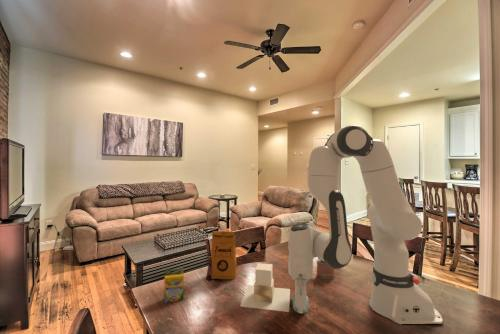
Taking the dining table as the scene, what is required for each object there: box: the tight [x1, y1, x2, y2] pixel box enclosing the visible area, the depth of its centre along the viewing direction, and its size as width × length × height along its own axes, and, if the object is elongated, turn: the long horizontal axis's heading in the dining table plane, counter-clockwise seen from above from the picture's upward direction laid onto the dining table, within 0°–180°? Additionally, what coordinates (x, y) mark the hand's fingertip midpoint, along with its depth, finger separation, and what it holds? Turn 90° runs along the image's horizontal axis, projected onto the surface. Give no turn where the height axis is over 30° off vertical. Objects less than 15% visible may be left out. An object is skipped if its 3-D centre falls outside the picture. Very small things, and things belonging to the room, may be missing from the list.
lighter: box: [316, 257, 335, 280], centre depth 114 cm, size 8×3×10 cm, turn 84°
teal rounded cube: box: [292, 293, 309, 314], centre depth 88 cm, size 6×6×5 cm
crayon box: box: [163, 268, 185, 303], centre depth 96 cm, size 7×3×12 cm, turn 105°
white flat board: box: [239, 284, 291, 313], centre depth 96 cm, size 18×16×1 cm
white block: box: [255, 262, 274, 286], centre depth 96 cm, size 6×6×6 cm
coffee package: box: [210, 230, 238, 281], centre depth 114 cm, size 10×12×22 cm
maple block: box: [253, 278, 275, 303], centre depth 96 cm, size 7×7×6 cm
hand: (300, 306), depth 88 cm, fingers closed on teal rounded cube, 5 cm apart
